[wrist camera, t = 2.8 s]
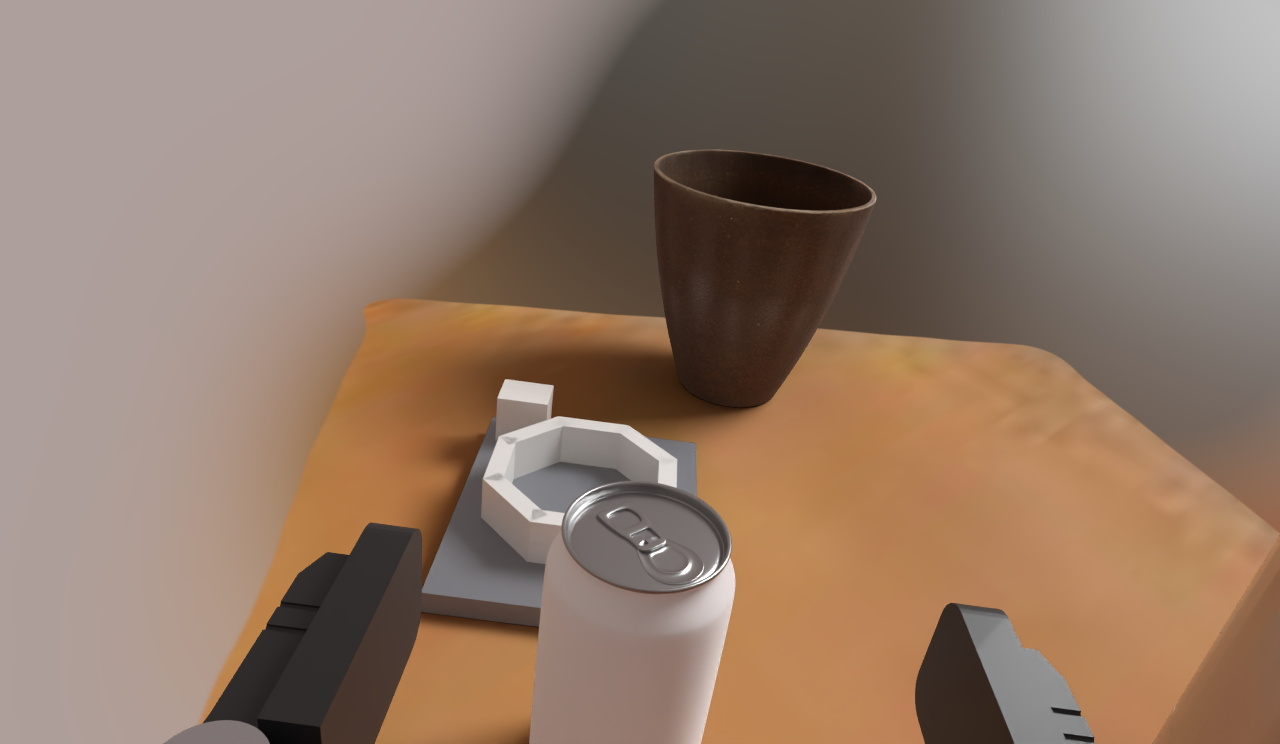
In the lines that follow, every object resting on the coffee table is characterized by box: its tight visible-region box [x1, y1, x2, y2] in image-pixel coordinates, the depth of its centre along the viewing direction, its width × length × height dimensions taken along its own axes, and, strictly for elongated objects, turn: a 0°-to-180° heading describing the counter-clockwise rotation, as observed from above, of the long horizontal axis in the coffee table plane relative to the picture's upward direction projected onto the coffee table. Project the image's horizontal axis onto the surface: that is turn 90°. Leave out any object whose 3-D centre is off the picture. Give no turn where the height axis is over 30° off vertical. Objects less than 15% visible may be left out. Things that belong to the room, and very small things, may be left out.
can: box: [529, 481, 735, 744], centre depth 30 cm, size 6×6×12 cm
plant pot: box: [654, 150, 876, 407], centre depth 59 cm, size 15×15×16 cm
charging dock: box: [421, 379, 697, 627], centre depth 45 cm, size 13×16×4 cm
